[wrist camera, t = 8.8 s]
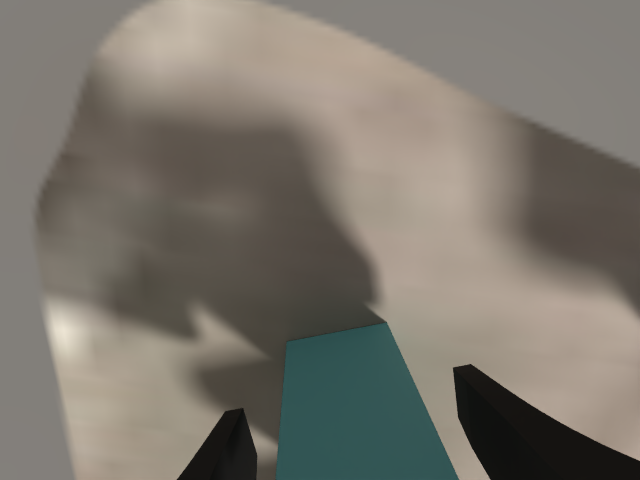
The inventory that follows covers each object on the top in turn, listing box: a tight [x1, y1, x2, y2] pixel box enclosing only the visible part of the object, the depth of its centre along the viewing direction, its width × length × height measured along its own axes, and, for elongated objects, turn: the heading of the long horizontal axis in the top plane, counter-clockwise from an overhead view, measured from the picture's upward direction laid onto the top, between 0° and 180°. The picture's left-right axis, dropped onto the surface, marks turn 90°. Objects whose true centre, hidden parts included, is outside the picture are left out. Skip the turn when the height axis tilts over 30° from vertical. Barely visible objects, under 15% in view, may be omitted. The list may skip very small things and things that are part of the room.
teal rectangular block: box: [275, 322, 459, 480], centre depth 12 cm, size 2×4×8 cm, turn 101°
